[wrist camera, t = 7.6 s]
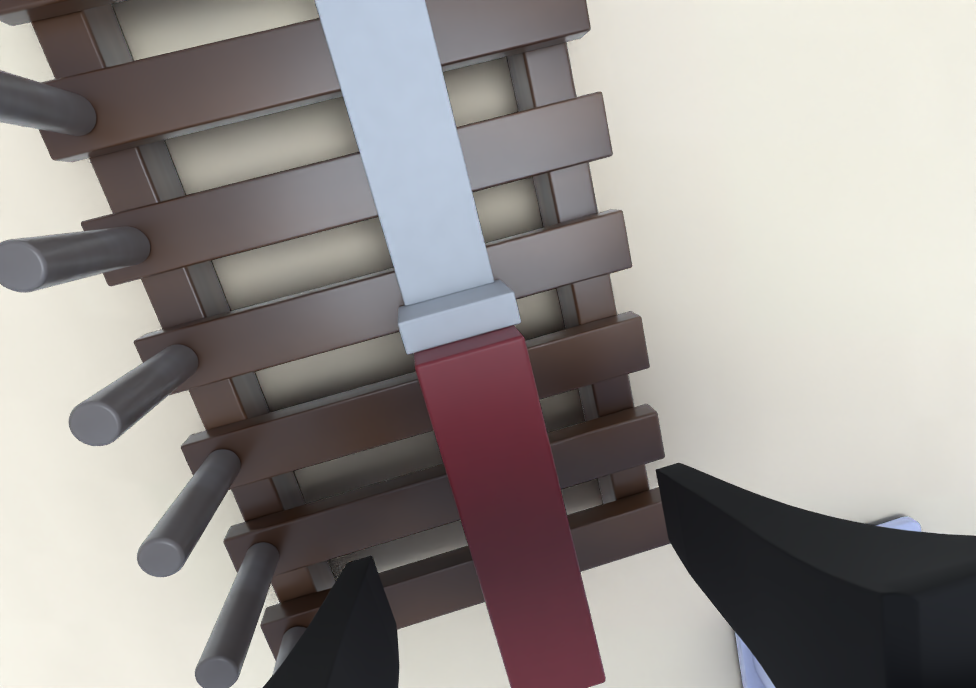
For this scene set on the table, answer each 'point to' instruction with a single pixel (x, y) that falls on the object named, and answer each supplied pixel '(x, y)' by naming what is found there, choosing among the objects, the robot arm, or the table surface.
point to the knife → (464, 342)
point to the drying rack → (328, 300)
